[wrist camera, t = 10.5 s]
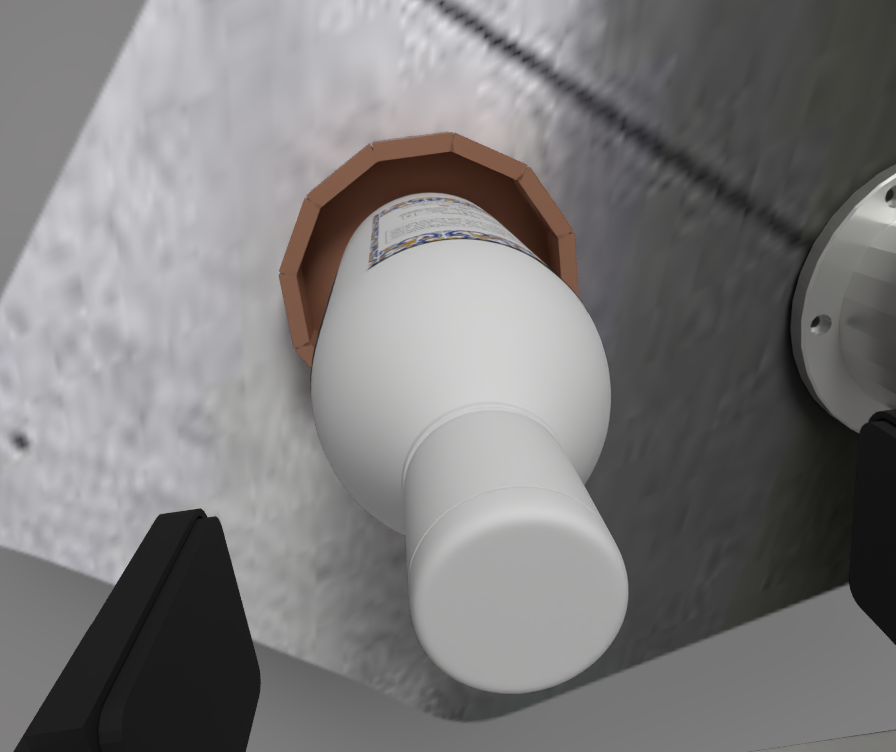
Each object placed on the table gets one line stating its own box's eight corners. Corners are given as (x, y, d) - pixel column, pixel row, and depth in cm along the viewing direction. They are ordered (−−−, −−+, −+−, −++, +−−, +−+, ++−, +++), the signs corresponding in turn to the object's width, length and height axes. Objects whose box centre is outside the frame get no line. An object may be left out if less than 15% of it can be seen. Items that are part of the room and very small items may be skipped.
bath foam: (443, 399, 30) (547, 877, 11) (303, 298, 28) (139, 668, 9) (554, 266, 28) (889, 557, 10) (413, 150, 27) (487, 229, 8)
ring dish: (550, 116, 27) (566, 116, 25) (569, 381, 31) (586, 404, 28) (266, 155, 27) (254, 159, 24) (319, 419, 30) (314, 445, 28)
